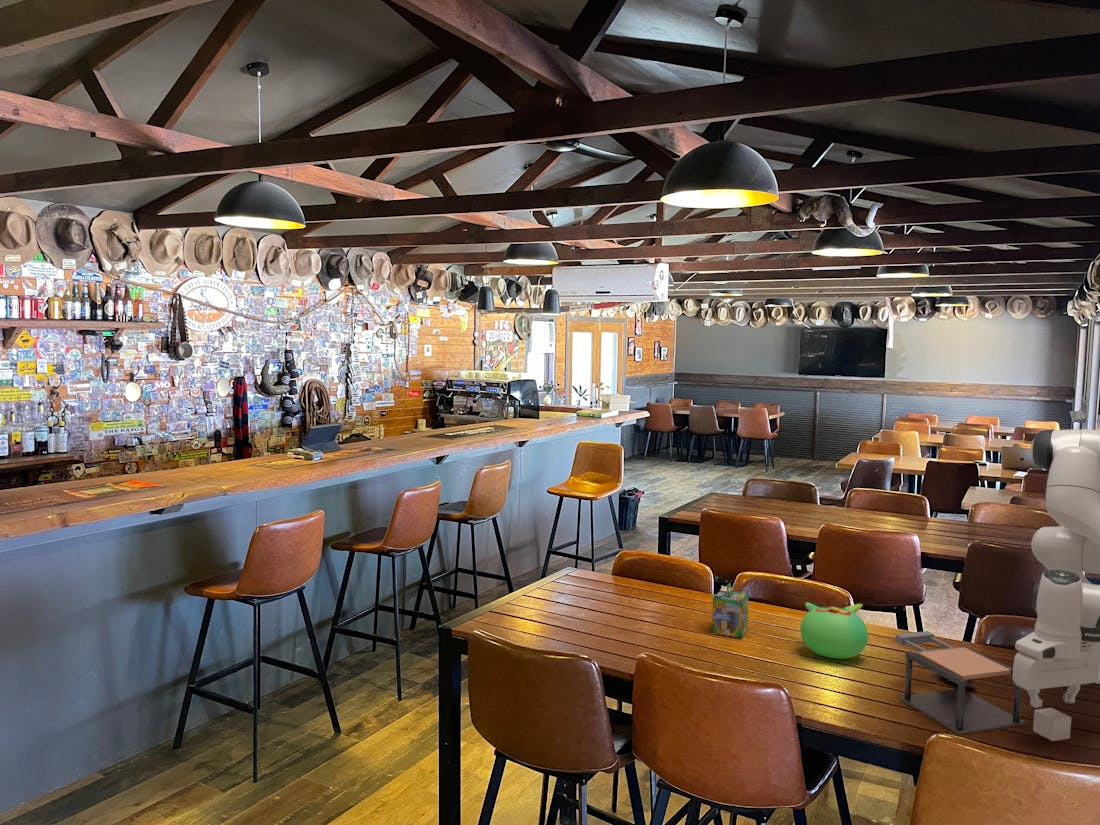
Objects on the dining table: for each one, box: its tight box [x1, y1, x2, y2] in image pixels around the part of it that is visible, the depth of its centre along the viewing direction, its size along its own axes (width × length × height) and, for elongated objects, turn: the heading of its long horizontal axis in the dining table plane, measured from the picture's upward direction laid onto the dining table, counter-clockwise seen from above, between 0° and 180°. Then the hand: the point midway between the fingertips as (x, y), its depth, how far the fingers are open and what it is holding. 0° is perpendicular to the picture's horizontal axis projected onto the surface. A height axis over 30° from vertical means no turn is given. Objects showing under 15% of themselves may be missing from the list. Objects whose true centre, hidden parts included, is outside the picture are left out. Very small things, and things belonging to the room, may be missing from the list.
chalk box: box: [711, 582, 750, 639], centre depth 242 cm, size 9×9×15 cm
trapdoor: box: [894, 630, 1011, 680], centre depth 195 cm, size 24×14×2 cm, turn 17°
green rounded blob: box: [799, 602, 869, 660], centre depth 225 cm, size 18×17×15 cm
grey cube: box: [1032, 707, 1072, 742], centre depth 180 cm, size 5×5×5 cm
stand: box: [899, 645, 1026, 735], centre depth 191 cm, size 19×19×12 cm
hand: (1052, 704), depth 179 cm, fingers open, 8 cm apart
